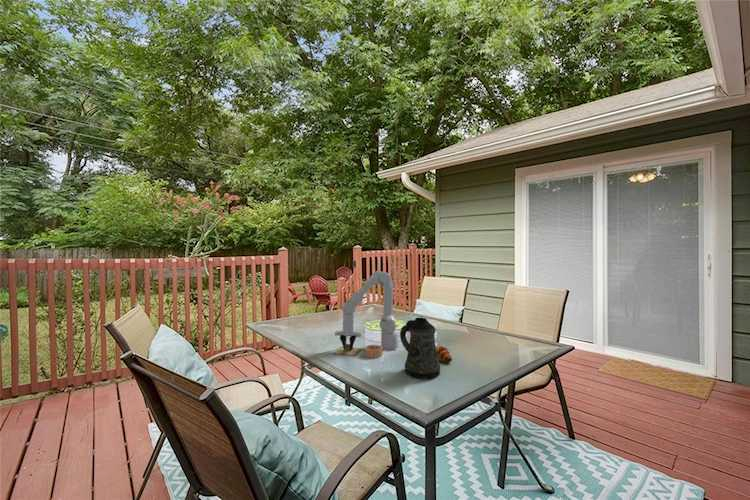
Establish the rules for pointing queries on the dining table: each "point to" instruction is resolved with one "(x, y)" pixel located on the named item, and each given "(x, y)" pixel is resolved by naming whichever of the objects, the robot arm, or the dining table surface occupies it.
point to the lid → (347, 350)
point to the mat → (348, 355)
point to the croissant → (443, 354)
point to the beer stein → (420, 349)
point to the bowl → (373, 351)
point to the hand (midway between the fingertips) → (348, 349)
